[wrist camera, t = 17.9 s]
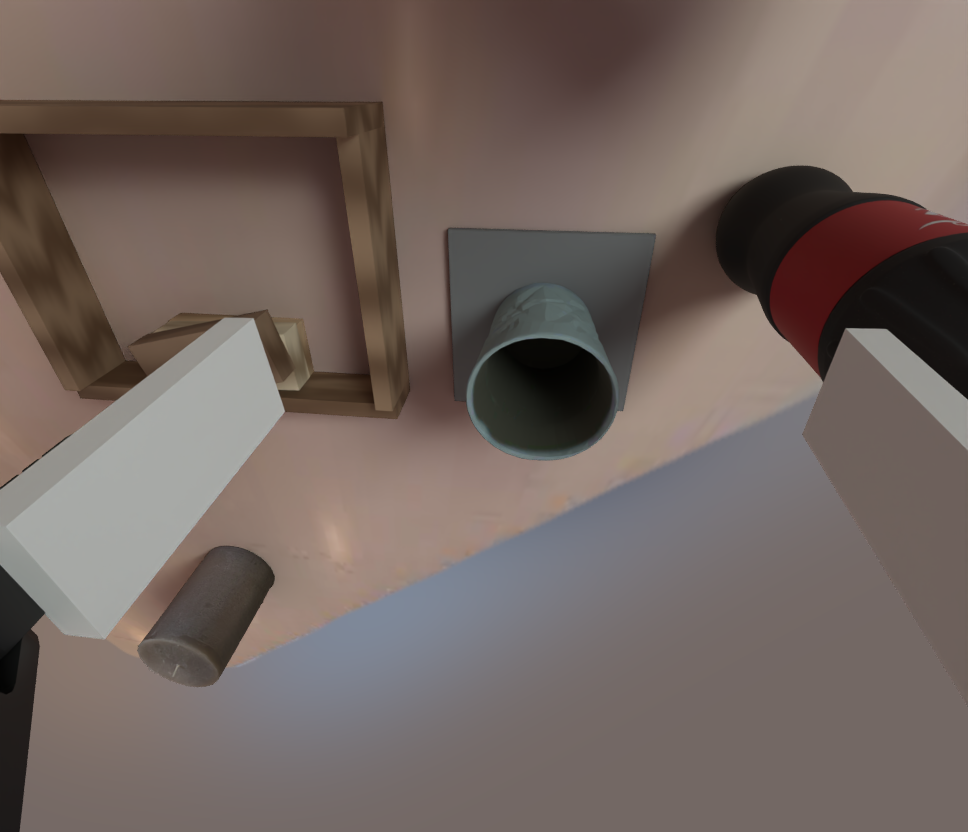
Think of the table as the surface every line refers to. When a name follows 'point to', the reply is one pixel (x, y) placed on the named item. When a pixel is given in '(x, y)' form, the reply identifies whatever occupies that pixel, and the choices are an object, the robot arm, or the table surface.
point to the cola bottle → (849, 267)
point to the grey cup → (542, 377)
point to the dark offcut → (170, 342)
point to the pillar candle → (207, 617)
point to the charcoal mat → (547, 259)
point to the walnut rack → (356, 125)
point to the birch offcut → (291, 343)
